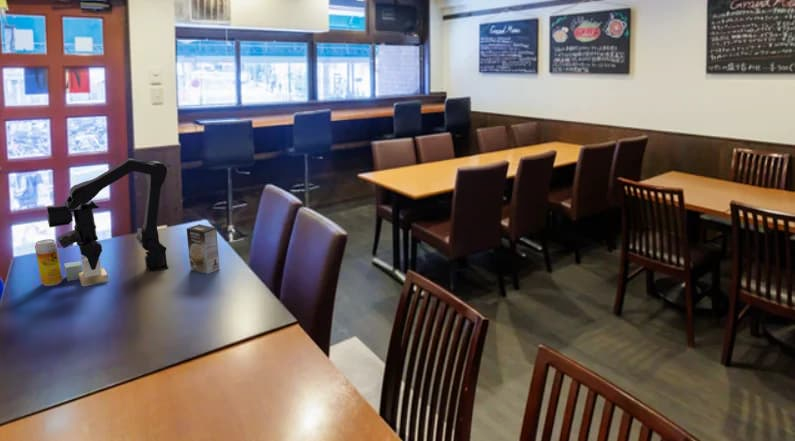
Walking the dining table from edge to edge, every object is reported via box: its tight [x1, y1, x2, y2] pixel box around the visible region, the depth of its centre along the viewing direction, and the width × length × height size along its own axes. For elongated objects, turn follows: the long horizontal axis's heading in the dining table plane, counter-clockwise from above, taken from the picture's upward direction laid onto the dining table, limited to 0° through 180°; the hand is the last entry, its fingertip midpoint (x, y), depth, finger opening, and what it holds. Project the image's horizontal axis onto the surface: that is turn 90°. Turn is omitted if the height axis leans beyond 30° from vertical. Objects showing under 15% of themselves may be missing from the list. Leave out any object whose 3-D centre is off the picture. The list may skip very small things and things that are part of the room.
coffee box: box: [186, 224, 221, 275], centre depth 196 cm, size 9×6×16 cm
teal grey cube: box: [64, 260, 84, 282], centre depth 189 cm, size 5×5×5 cm
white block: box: [80, 255, 102, 277], centre depth 186 cm, size 5×5×6 cm
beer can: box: [34, 239, 63, 287], centre depth 182 cm, size 6×6×15 cm
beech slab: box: [78, 267, 109, 287], centre depth 187 cm, size 8×8×3 cm
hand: (91, 265), depth 186 cm, fingers open, 9 cm apart
